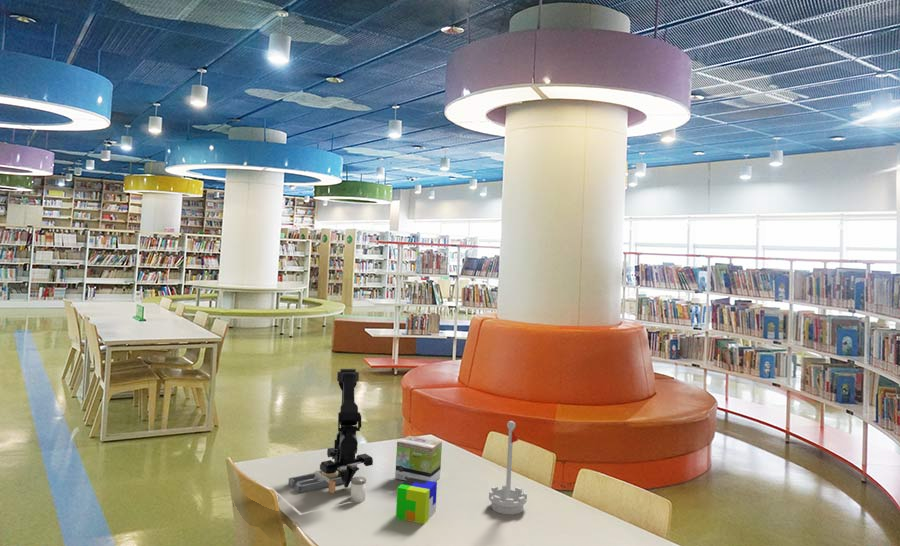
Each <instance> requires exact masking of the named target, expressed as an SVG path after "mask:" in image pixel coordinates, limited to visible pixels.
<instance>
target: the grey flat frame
mask: <svg viewBox="0 0 900 546" xmlns="http://www.w3.org/2000/svg"><path fill="white" fill-rule="evenodd" d="M319 472H320V473H321V474H322V471H319ZM313 478H315V472H313V473H307V474H304V475H298V476H292V477H288V486H290V487H291V488H292V489H294V490H295V491H296V492H297V493H299V494H302V493H307V492H311V491H315V490H320V489H325V488H329V483H328V482H327V481H320V482H317V481H316V480H314V481H309V482H304V483H297V482H299V481H304V480H309V479H313ZM330 480H334V481H335V486H340V485H344V484H343V481H342V478H341V475H340V473H339V472H338V478H335V479H330Z"/></svg>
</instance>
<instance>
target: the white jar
mask: <svg viewBox="0 0 900 546" xmlns="http://www.w3.org/2000/svg"><path fill="white" fill-rule="evenodd" d="M366 483H367V478H366V477H365V476H355V477H354V476H353V478H352V479H351V481H350V499H351V502H353V503H363V502H365V500H366V488H367V487H366V486H367V484H366Z"/></svg>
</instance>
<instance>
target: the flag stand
mask: <svg viewBox="0 0 900 546" xmlns="http://www.w3.org/2000/svg"><path fill="white" fill-rule="evenodd" d="M506 428H507V429H508V439H507V440H508V441H507V461H506V463H507V464H506V481H505V483H506V484H505V485H504V484H503V485H502V486H501V487H500V488H499V486H497V485H495V486H491V489H489V491H488V499H489V501H490V502H491V509H492V510H493V511H494V512H497V513H499V514H503V515H517V514H521V513H522V512H523V511H524V505H525V504H527V500H528V499H527V498H528V493H527V491H523V488H521V487H518V486H515V487H514V489H513V488H511V485H512V484H511V483H512V481H511V480H512V462H513V461H512V460H513V444H514V443H515V442H517V441H519V439H518V437H517V436H516V434H515V433H514V429H516V422H514V421H513V420H510V421H507V423H506Z"/></svg>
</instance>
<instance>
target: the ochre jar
mask: <svg viewBox="0 0 900 546" xmlns="http://www.w3.org/2000/svg"><path fill="white" fill-rule="evenodd" d="M333 462H334V461H333ZM334 463H335V462H334ZM321 472H322V474H323V475H324V476H326V477H327V478H329V479H335V478H338V471H336V472H335V473H331V474H326V473H324V472H323V471H321Z"/></svg>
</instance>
